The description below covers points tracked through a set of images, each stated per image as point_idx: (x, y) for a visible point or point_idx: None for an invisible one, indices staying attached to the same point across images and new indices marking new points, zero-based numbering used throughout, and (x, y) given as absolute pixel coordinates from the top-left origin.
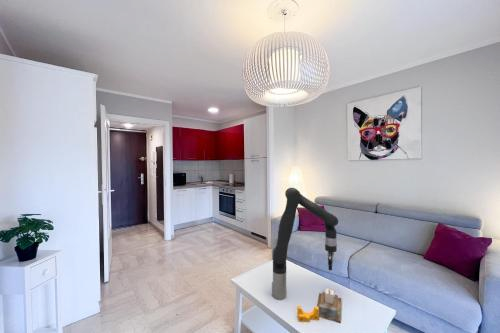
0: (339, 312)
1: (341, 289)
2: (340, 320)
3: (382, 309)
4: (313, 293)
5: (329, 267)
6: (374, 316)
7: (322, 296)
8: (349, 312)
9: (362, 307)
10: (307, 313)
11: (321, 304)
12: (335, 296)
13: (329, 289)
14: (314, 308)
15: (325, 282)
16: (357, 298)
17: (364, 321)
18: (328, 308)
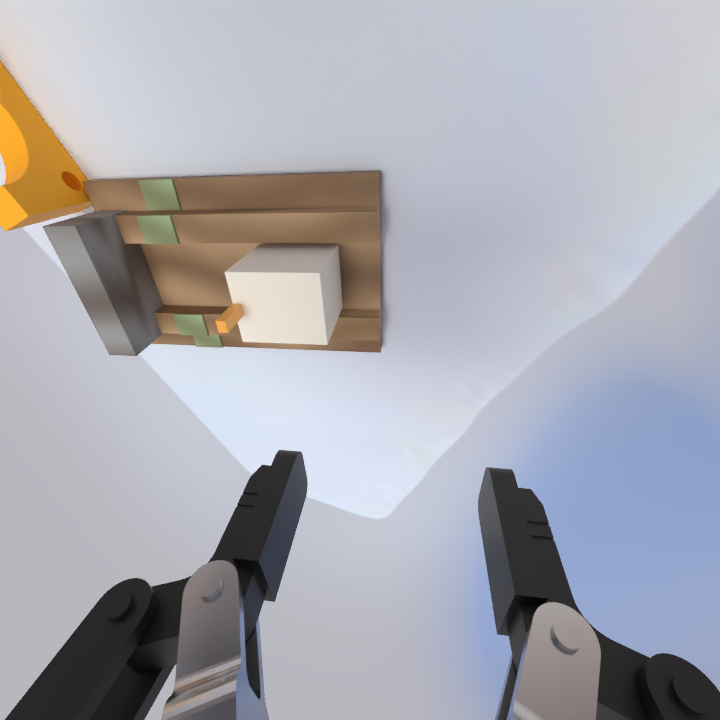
0: (215, 339)
1: (529, 350)
2: (156, 342)
3: (388, 503)
4: (377, 101)
5: (236, 512)
6: (316, 470)
7: (296, 220)
8: (279, 381)
9: (362, 439)
10: (1, 115)
11: (82, 245)
12: (352, 324)
13: (311, 308)
14: (9, 185)
15: (642, 209)
16: (442, 429)
17: (253, 432)
18: (85, 301)
